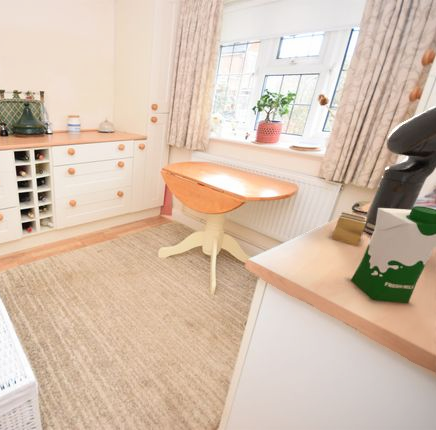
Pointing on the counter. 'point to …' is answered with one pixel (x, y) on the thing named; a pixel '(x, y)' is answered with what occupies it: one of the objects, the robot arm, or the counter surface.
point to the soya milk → (397, 253)
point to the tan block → (349, 228)
